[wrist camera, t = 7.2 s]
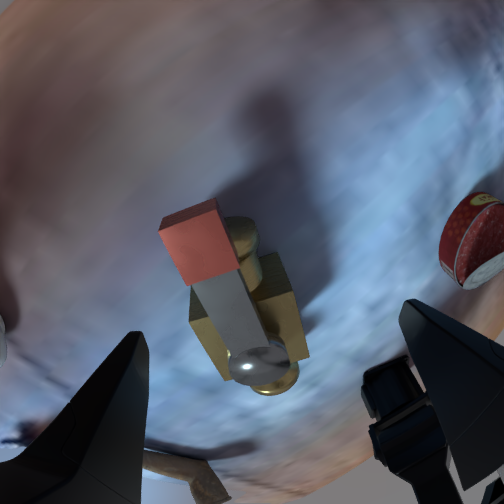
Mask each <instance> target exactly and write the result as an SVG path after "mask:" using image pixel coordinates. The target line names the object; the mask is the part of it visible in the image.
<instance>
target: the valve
mask: <svg viewBox="0 0 504 504" xmlns="http://www.w3.org/2000/svg"><path fill="white" fill-rule="evenodd" d="M224 220H225V222H226V225H227V227H228V230H229V232H230V235H231V237H232V240H233V242H234V245H235V247H236V250H237V252H238V258H239V264H240V270H241V272H242V274H243V277H244V279H245V282H246V284H247V286H248V289H249V291H250V293H251V296H252V298H253V300H254V303H255V305H256V307H257V310H258V312H259V315H260V317H261V319H262V322H263V324H264V326H265V329H266V331H267V332H271V333H274V334H276V335H278V336H280V337H281V338H282V339H283V341H284V343H285V346H286V349H287V353H288V356H289V360H290V367H289V370H288V371H287V373H286V374H285V375H284V376H283V377H281V378H280V379H278V380H277V381H275V382H272V383H270V384H266V385H261V386H250V387H251V389H252V390H253V391H255V392H256V393H258V394H261V395H265V396H273V395H278V394H281V393H283V392H285V391H287V390H289V389H290V388H291V387H292V386H293V385H294V384H295V383H296V381H297V379H298V377H299V372H300V369H299V365H298V361H299V360H303V359H306V358H309V357H310V355H309V351H308V347H307V343H306V339H305V335H304V331H303V327H302V323H301V319H300V315H299V311H298V307H297V304H296V300H295V296H294V292H293V289H292V287H291V284H290V282H289V279H288V277H287V274H286V272H285V269H284V267H283V264H282V262H281V259H280V257H279V254H278V252H276V253H273V254H270V255H267V256H264V257H260V258H258V256H257V253H256V249H257V247H258V246H259V243H260V238H259V234H258V231H257V228H256V225H255V222H254V221H253V220H252V219H250V218H247V217H240V216H237V217H228V218H224ZM189 324H190V325H191V327H192V329H193V330H194V332H195V334H196V336H197V337H198V339H199V341H200V342H201V344H202V346H203V347H204V349H205V351H206V352H207V354H208V355H209V357H210V359H211V360H212V362H213V363H214V365H215V367H216V368H217V370H218V371H219V373H220V375H221V376H222V378H223V379H224V381H228V380H232V377H231V376H230V374H229V367H228V356H227V351H228V349H227V347H226V345H225V344H224V342H223V340H222V339H221V337H220V335H219V333H218V332H217V330H216V328H215V326H214V325H213V323H212V321H211V319H210V318H209V316H208V314H207V312H206V311H205V309H204V307H203V305H202V304H201V302H200V300H199V298H198V296H197V294H196V293H195V291H194V289H193V287H192V285H191V292H190V307H189Z"/></svg>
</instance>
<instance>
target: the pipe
mask: <svg viewBox="0 0 504 504" xmlns="http://www.w3.org/2000/svg"><path fill="white" fill-rule="evenodd" d="M142 468H144V469H147V470H149V471H152V472H155V473H158V474H161V475H165V476H168V477H172V478H176V479H180V480H184V481H187V482H188V483H189V485H190V490H191V493H192V496H193V498H194V500H195V502H196V504H222V503H224V502H227V501H229V500H231V496H229V495H228V493H227V491H226V489H225V488H224V486H223V484H222V483H221V481H220V480H219V478H218V477H217V476H216V474H215V473H214V471H213V470H212V469H211V467H210V466H209V464H208V462H207V461H206V460H195V459H190V458H185V457H180V456H175V455H170V454H164V453H159V452H154V451H149V450H144V451H143V466H142Z"/></svg>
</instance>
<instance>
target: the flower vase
mask: <svg viewBox="0 0 504 504" xmlns="http://www.w3.org/2000/svg"><path fill="white" fill-rule="evenodd" d="M6 359H7V344H6V339H5V324H4V321H3V319H2V317H1V315H0V368H1V367H2V366H3V364H4V363H5V361H6Z"/></svg>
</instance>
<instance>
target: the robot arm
mask: <svg viewBox="0 0 504 504" xmlns="http://www.w3.org/2000/svg"><path fill="white" fill-rule="evenodd" d="M399 325H400V327H401V330H402V333H403V335H404V338H405V341H406V343H407V346H408V349H409V352H410V355H411V357H412V359H413V362H414V364H415V366H416V368H417V370H418V373H419V375H420V377H421V379H422V381H423V384H424V386H425V388H426V392H425V393H424V392H423V390H422V388H421V387H420V385H419V383H418V381H417V380H416V378H415V376H414V375H413V373H412V371H411V370H410V368H409V366H408V364H409V356H408V355H406V356H403V357H401V358H399V359H397V360H395V361H392V362H390V363H388V364H385V365H383V366H381V367H378V368H376V369H373V370H371V371H369V372H366V373H365V374H364V375H363V385H362V387H361V396H362V399H363V401H364V403H365V406H366V408H367V410H368V413H369V415H370V417H371V418H372V419H373V418H376V420H377V422H376V423H374V424H371V425H369V429H370V430H369V431H368V432H369V435H370V437H371V440H372V444H373V450H374V457H375V459H376V460H380V461H381V462H382V464H383V465H384V466H385V467H387V466H388V468H389V470H390V472H392V473H393V474H395V475H396V476H398V477H400V478H401V479H403V480H405V481H406V482H408V483H410V484H411V485H412V487H413V490H414V493H415V495H416V498H417V501H418V504H464V503H463V501H462V499H461V496H460V494H459V492H458V490H457V487H456V485H455V482H454V480H453V478H452V476H451V474H450V471H449V466H450V460H451V454H452V457H453V460H454V463H455V466H456V469H457V472H458V475H459V478H460V481H461V485H462V488H463V490H464V491H466V490H467V489H469V488H470V487H472V486H474V485H475V484H477V483H478V482H480V481H481V480H483V479H484V478H486V477H487V476H489V475H490V474H492V473H493V472H494V471H496V470H497V471H498V473H499V477H498V478H497V479H496V480H494V481H493V482H492V483H490V484H489V485H488V486H487V487H486V490H485V493H484V496H483V500H482V503H481V504H504V346H502V345H500V344H498V343H496V342H494V341H493V340H491V339H488V338H487V337H485V336H484V335H482V334H480V333H478V332H476V331H475V330H473V329H471V328H469V327H467V326H466V325H464V324H462V323H460V322H458V321H456V320H454V319H453V318H451V317H449V316H447V315H445V314H443V313H441V312H440V311H438V310H436V309H434V308H432V307H430V306H428V305H426V304H425V303H423V302H421V301H419V300H417V299H409V300H406V301H405V302H404V303H403V306H402V309H401V312H400V315H399ZM148 399H149V349H148V346H147V343H146V340H145V338H144V335H143V333H142V332H141V331H130V332H129V333H128V334H127V335H126V336H125V337H124V338H123V339H122V340H121V342H120V343H119V344H118V345H117V346H116V347H115V348H114V350H113V351H112V352H111V353H110V354H109V355H108V356H107V358H106V359H105V360H104V361H103V362H102V363H101V365H100V366H99V367H98V368H97V369H96V370H95V372H94V373H93V374H92V375H91V376H90V377H89V379H88V380H87V381H86V382H85V383H84V385H83V386H82V387H81V388H80V389H79V391H78V392H77V393H76V394H75V395H74V397H73V398H72V399H71V400H70V403H68V404H67V405H66V406H65V407H64V409H63V410H62V411H61V412H60V413H59V414H58V416H57V417H56V418H55V419H54V420H53V421H52V422H51V423H50V424H49V425H48V427H47V428H46V429H45V430H44V431H43V432H42V433H41V434H40V435H39V436H38V437H37V438H36V439H35V440H34V441H33V442H32V443H31V444H30V445H29V446H28V447H27V448H26V449H25V450H24V451H23V452H22V453H21V454H20V455H18V456H17V457H15V458H13V459H11V460H8V461H5V462H1V463H0V504H141V483H142V466H143V451H144V439H145V428H146V418H147V409H148Z"/></svg>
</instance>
